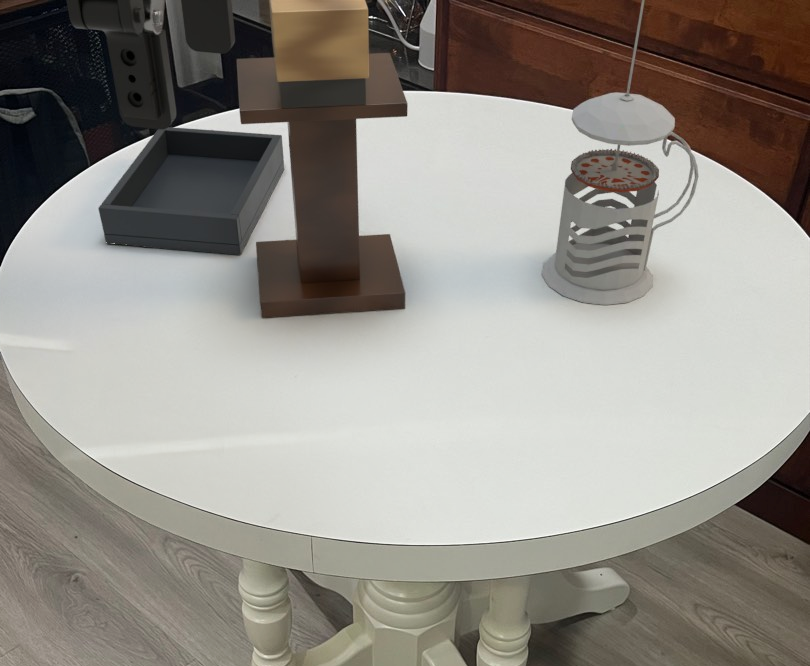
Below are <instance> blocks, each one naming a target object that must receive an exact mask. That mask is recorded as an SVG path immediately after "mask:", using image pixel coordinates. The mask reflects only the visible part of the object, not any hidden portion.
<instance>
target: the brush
mask: <svg viewBox="0 0 810 666" xmlns="http://www.w3.org/2000/svg"><path fill="white" fill-rule="evenodd" d="M268 5H269V17H270V28H271V43H272V51H273V57H274V60H275V68H276V76H277V81H278V82H279V88H280V96H281V104H282V108H299V107H321V106H343V105H365V104H366V78H369V54H370V43H369V41H370V39H369V38H370V37H369V35H370V33H369V30H370V29H369V7H368V4H367V2H366V0H268Z"/></svg>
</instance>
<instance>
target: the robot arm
mask: <svg viewBox="0 0 810 666" xmlns="http://www.w3.org/2000/svg"><path fill="white" fill-rule="evenodd" d="M180 2H181V12H182V19H183V27H184V35H185V42H186V44H187V46H188V47H189V48H190V49H191V50H192V51H195V52H199V53H200V52H201V53H209V54H210V53H211V54H221V55H224V54H227V53H228V52H230V50H231V49H232V48H233V46H234V45H235V43H236V34H235V24H234V22H235V21H234V13H233V11H234V10H233V1H232V0H180ZM165 4H166V0H66V6H67V12H68V17H69V21H70V23H71V25H72V27H74V28H75V29H80V30H95V31H96V30H97V31H102V32H104V34H105V38H106V44H107V49H108V54H109V55H108V56H109V59H110V67H111V71H112V77H113V82H114V88H115V95H116V99H117V105H118V111H119V115H120V118H121V120H122V121H123V122H124V123H125V124H126V125H128V126H130V127H134V128H144V129H154V130H158V129H166V128H168V127H171V125H172V124H173V122H174V121H175V120H176V118H177V106H176V99H175V91H174V84H173V77H172V71H171V70H172V69H171V63H170V56H169V48H168V41H167V33H166V29H163V28H164V27H163V26H164V21H165V20H164V18H165V17H164V16H165V6H166V5H165Z"/></svg>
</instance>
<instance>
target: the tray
mask: <svg viewBox="0 0 810 666" xmlns="http://www.w3.org/2000/svg"><path fill="white" fill-rule="evenodd" d="M284 159H285V158H284V145H283V135H282V134H271V133H257V132H256V133H255V132H243V131H229V130H214V129H201V128H200V129H199V128H185V127H174V126H172V127H171V126H169V127H168V128H166V129H156V131H155V133H154V134H153V136H151V138H150V139H149V140H148V142H146V145H145V146H144V147H143V148H142V150H141V151H140V152H139V153H138V155H137V156H136V157H135V158H134V160H133V161H132V163H131V164H130V165H129V167H128V169H127V170H126V171H125V172H124V174H123V175H122V176H121V178H120V179H119V180H118V182H116V184H115V186H113V188H112V189H111V191H110V192H109V193H108V195H107V196H106V197H105V199H104V200H103V201H102V203H101V204H100V205H99V206H98V209H97V210H98V213H99V217H100V222H101V227H102V232H103V235H104V240H105V243H106V242H107V243H115V244H124V245H123V246H127V245H133V246H132V247H139V246H145V247H144V248H151V247H155V248H154V249H163V248H164V250H177V251H189V252H199V253H200V252H201V253H210V254H211V253H213V254H224V255H237V256H240V255H242V253H243V251H244V250H245V247H246V245H247V243H248V241H249V239H250V237H251V235H252V233H253V231H254V229H255V227H256V225H257V223H258V221H259V219H260V218H261V215H262V214H263V212H264V209H265V207H266V206H267V204H268V202H269V200H270V199H271V196H272V195H273V192H274V191H275V188H276V186H277V184H278V182H279V180H280V178H281V177H282V174H283V173H284V170H285V160H284ZM125 244H127V245H125ZM135 245H136V246H135Z"/></svg>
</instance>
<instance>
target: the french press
mask: <svg viewBox="0 0 810 666" xmlns="http://www.w3.org/2000/svg"><path fill="white" fill-rule="evenodd" d="M644 6H645V0H641V3H640V11H639V16H638V21H637V22H638V23H637V27H636V35H635V41H634V46H633V51H632V57H631V65H630V69H629V75H628V80H627V81H628V82H627V87H626V88H627V89H626V92H618V91H617V92H609V93H606V94H603V95H599V96H596V97H592V98H588V99H587V100H585V101H583V102H581V103H580V104H578V105H577V106H575V107H574V108H573V109H572V114H571V121H572V124H573V126H574V127H575V128H576V129H577V131H578V132H579V133H580V134H582V135H584V136H586V137H587V138H589V139H592V140H595V141H598V142H602V143H606V144H610V145H617V146H616V147H617V148H615V149H614V150H613V148H610V149H609V148H607V149H603V148H602V149H601V148H600V149H594V150H593V149H592V150H589V151H587V152H582V154H579V155H578V156H576V157H575V158H574V159H573V160H571V163H570V171H571V173H570V174H569V175H568V176H567V177H566V179H564V187H563V194H562V195H563V196H562V202H561V203H562V204H561V211H560V218H559V225H558V235H557V242H556V249H555V253H553V254H552V255H551V256H550V257H549V258H548V259H547V260H545V261H544V262H543V264H542V269H541V276H542V278H543V279H544V281H545V283H546V285H547V286H548V287H549V288H551V289H552V290H554V291H555V292H557V293H558V294H559V295H560V296H563V297H565V298H568V299H571V300H574V301H577V302H580V303H584V304H593V305H601V306H602V305H603V306H608V305H618V304H628V303H630V302H633V301H635V300H637V299H640V298H642V297H644V296H645V295H646V294H647V293H648V292H649V291H650V290H651V288H653V276H654V275H653V273H652V272H651V270H650V269H649V268H648V267H647V265H648V260H649V255H650V251H651V246H652V241H653V237H654V232H655V231H656V230H658V229H659V228H661V227H663V226H665V225H667V224H671V223H672V222H674V221H675V220H676V219H677V218H679V217H680V216H681V215H682V214H683V213H684V211H685V210H686V209H687V208H688V206H689V205H690V204H691V202H692V199H693V198H694V195H695V194H696V190H697V184H698V180H699V168H698V163H697V159H696V157H695V155H694V154H693V153H692V149H691V146H690V144H688V142H686V140H685V139H684V138H683V137H681V136H680V135H678V134H676V133H675V132H673V131H674V129H675V126H676V118H675V117H674V116H673V114H672V113H671V112H670V111H669V110H667V108H665V107H664V106H663V105H662V104H660V103H658V102H656V101H654V100H652V99H650V98H648V97H646V96H644V95H642V94H638V93H637V94H636V93H630V90H631V85H632V78H633V72H634V66H635V60H636V54H637V49H638V44H639V43H638V42H639V37H640V30H641V25H642V18H643V12H644ZM669 136H672V137H674V138H675V139H677V140H671V141H670V142H669V143H668V144H667V142H668V137H669ZM678 140H679V141H678ZM660 141H662V146H661V149H662V152H663V154H664V156H665V157H669V155H670V151H671V149H672V146H673V145H676V146H678V147H679V148H681V149H683V150H684V151H685V152H686V154H687V155H688V156H689V157H688V158H689V165H690V169H689V174H688V179H687V183H686V185H685V187H684V189H683V191H682V193H681V194H680V196H679V197H678V199H677V200H676V202H675V203H673V204H672V205H671V206H669V207H667V209H664V210H661V211H660V212H657V213H656V209H657V206H658V205H657V204H658V200H659V194H660V193H659V192H660V191H659V189H658V190H657V187H658V185H657V183H656V181H657V180H658V179H659V178H660V175H659V174H660V168H659V167H658V166H657V164H655V162H653V161H652V160H651V159H649V158H648V157H645V156H643V155H640V153H637V154H636V153H635V152H633V153H632V151H630V152H629V151H628V150H626V151H625V150H624V149H623V150H621V146H626V147H627V146H628V147H629V146H630V147H632V146H644V145H645V146H646V145H651V144H654V143H657V142H660ZM693 174H694V180H693V182H692V177H693ZM691 182H692V187H691ZM589 187H590V188H592V190H590V191H589V192H587V193H586V194H584V195H582V196H581V197H579V198H578V197H576V196H575V195H576V194H578V193H580V192H581V191H583V190H585V189H587V188H589ZM690 187H691V190H690V193H689V197H688V198H687V200H686V202H685V204H684V205H683V207H682V208H681V210H680V211H679V212H678V213H676V214H675V215H674V216H672V217H671V218H669V219H666V220H664V221H661V222H660V223H657V224H655V225H653V224H654V220H655V219H657V218H659V217H661V216H663V215H666V214H668V213H670V211H672V210H674V209H675V208H676V207H677V206H678V205H679V204H680V202H681V201H682V200H683V198H684V197H685V195H686V194H687V192H688V190H689V188H690ZM656 191H657V195H656ZM632 192H636V194H633V193H632ZM611 193H612V194H613V193H614V194H616V195H619V196H621V197H624V198H626V199H627V200H628V201H629V202H630V203H631V204H632V205H633V207H629V206H628V205H627V204H626V203H623V202H621V201H618V200H616V199H614V198H606V199H597V200H596V201H594V202H592V203H589V202H587V201H589V200H591V199H592V198H594V197H596V196H598V195H604V194H611ZM628 221H630V222H628ZM572 223H573V224H574V225H573V226H571V225H572ZM614 224H618V225H620V226H622V228H618V229H617V228H614V227H612V226H611V225H614ZM581 229H587V230H586V231H584V232H581V233H580V234H577V232H579V231H580V230H581ZM570 238H571V239H570ZM569 239H570V240H569Z"/></svg>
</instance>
